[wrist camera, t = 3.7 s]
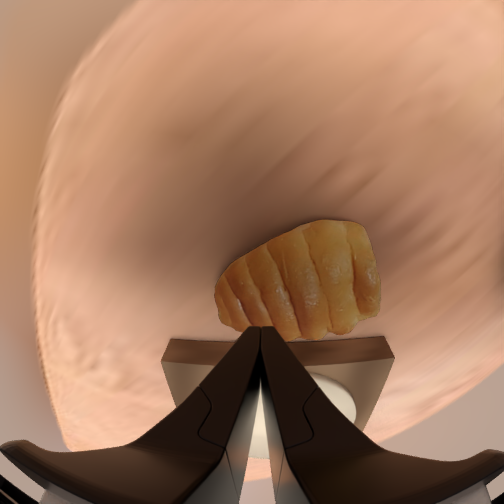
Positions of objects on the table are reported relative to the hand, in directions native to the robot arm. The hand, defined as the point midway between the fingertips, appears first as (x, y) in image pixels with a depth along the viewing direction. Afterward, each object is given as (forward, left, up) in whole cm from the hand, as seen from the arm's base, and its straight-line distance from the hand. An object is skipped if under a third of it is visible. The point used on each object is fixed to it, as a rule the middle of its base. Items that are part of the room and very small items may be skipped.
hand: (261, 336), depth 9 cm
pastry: (0, 0, -9) cm, 9 cm away
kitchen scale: (-1, +13, -8) cm, 16 cm away
